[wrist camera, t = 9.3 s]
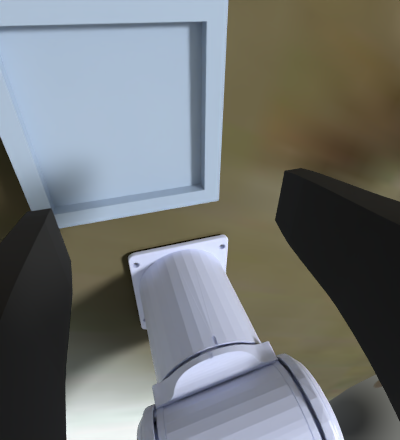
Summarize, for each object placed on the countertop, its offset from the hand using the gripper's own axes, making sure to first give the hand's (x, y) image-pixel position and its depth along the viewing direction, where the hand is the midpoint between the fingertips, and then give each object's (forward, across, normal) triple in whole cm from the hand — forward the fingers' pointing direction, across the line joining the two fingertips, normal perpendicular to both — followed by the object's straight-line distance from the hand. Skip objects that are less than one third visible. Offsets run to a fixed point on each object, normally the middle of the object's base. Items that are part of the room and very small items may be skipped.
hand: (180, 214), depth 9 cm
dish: (+10, +1, 0) cm, 10 cm away
